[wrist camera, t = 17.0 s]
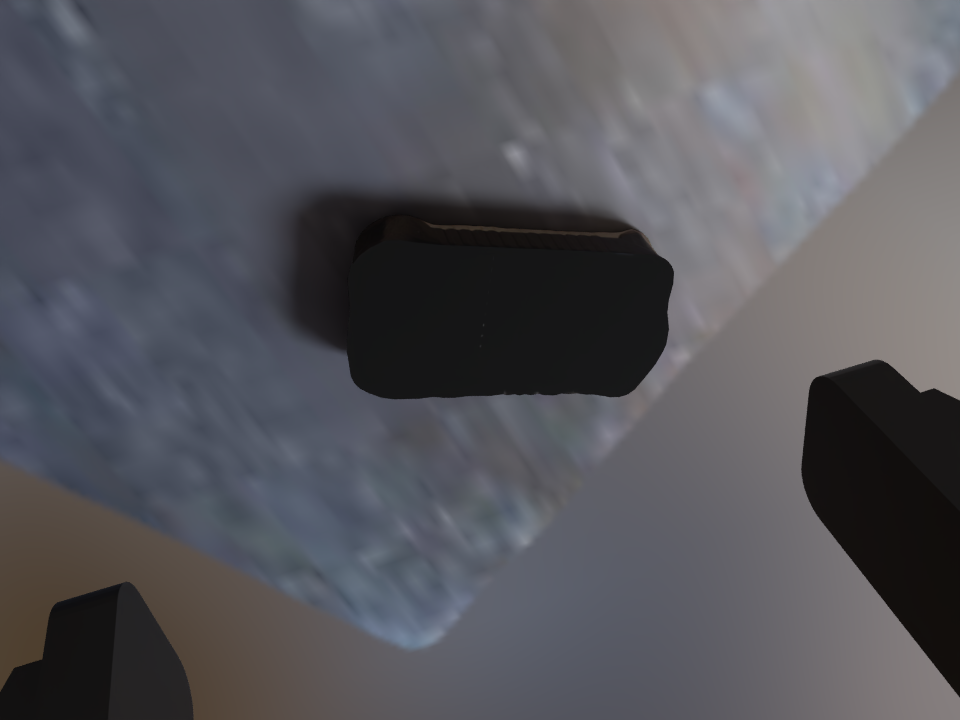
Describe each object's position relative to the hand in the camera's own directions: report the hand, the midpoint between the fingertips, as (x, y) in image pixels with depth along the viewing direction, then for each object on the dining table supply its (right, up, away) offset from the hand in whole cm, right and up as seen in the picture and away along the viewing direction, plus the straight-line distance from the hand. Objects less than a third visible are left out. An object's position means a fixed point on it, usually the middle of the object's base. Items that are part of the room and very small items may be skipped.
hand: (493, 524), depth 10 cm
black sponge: (+1, +6, +35) cm, 36 cm away
